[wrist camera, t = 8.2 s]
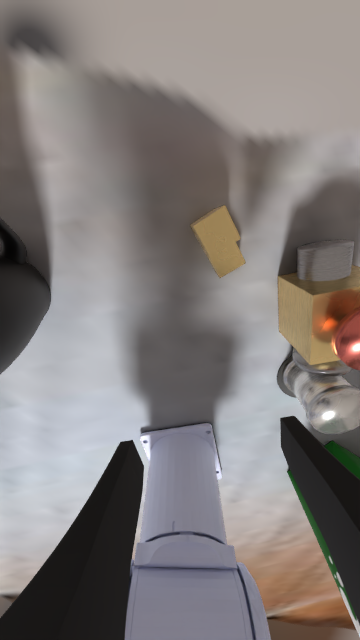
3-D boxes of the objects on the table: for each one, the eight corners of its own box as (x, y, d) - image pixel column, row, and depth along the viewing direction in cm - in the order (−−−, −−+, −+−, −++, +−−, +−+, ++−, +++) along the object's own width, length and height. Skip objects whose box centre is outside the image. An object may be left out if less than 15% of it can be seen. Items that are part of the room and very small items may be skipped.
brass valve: (335, 341, 20) (408, 396, 14) (279, 351, 20) (324, 409, 14) (345, 235, 16) (451, 244, 10) (276, 250, 17) (336, 267, 10)
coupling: (330, 383, 22) (370, 427, 17) (284, 394, 22) (312, 439, 17) (328, 346, 20) (373, 384, 15) (279, 359, 20) (308, 399, 16)
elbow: (238, 258, 17) (255, 268, 13) (215, 272, 17) (225, 285, 14) (214, 208, 15) (224, 205, 12) (189, 225, 16) (192, 226, 12)
